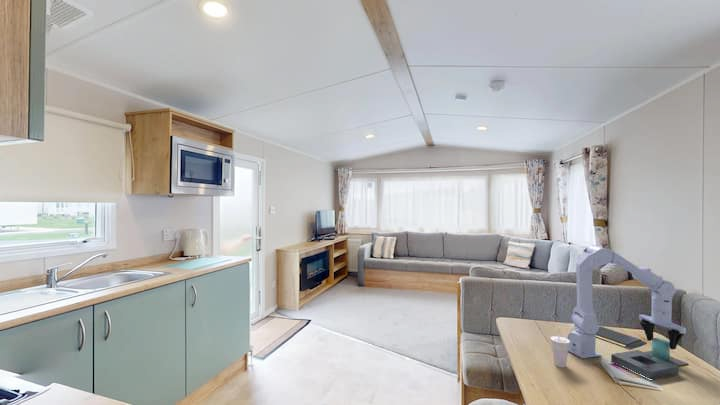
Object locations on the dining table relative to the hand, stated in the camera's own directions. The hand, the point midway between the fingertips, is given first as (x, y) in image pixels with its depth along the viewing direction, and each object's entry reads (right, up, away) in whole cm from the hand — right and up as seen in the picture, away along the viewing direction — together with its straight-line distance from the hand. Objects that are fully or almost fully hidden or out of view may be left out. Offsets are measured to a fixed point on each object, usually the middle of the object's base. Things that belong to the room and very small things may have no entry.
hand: (661, 344), depth 124 cm
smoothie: (-42, -6, -4) cm, 43 cm away
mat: (0, -6, 0) cm, 6 cm away
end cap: (0, -6, 0) cm, 6 cm away
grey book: (-3, -7, +20) cm, 21 cm away
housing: (-13, -6, -7) cm, 15 cm away
